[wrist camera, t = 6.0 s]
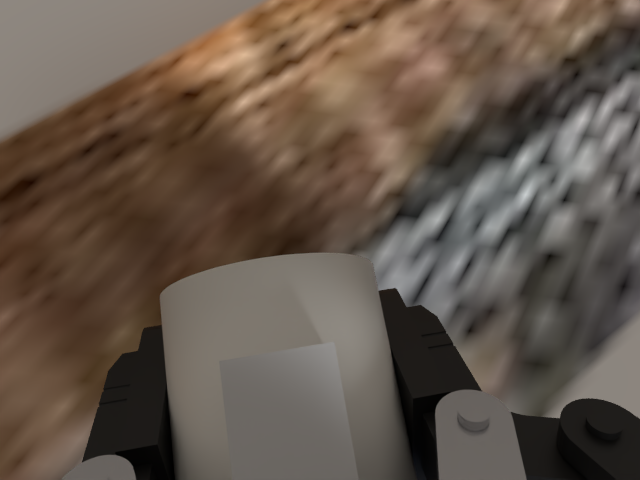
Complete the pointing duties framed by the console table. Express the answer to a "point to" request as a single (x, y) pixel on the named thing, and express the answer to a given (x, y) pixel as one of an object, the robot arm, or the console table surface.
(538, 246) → the console table surface
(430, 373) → the robot arm
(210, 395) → the cylinder
